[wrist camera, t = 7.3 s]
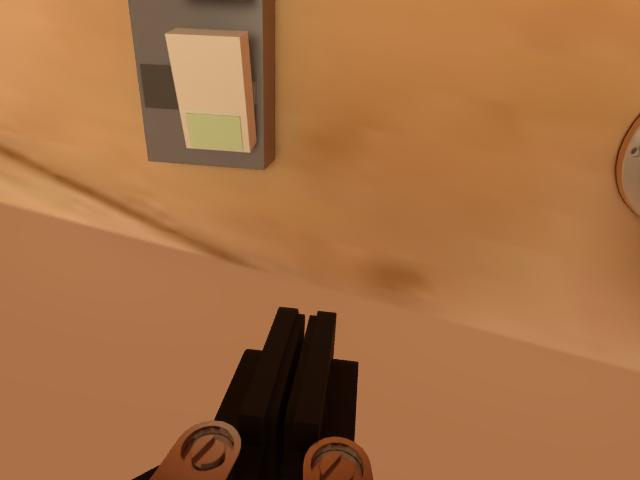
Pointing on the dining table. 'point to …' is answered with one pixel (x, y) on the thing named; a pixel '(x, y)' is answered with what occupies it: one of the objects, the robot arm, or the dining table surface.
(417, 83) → the dining table surface
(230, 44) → the rocker
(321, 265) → the dining table surface
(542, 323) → the dining table surface
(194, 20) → the power strip
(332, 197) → the dining table surface
